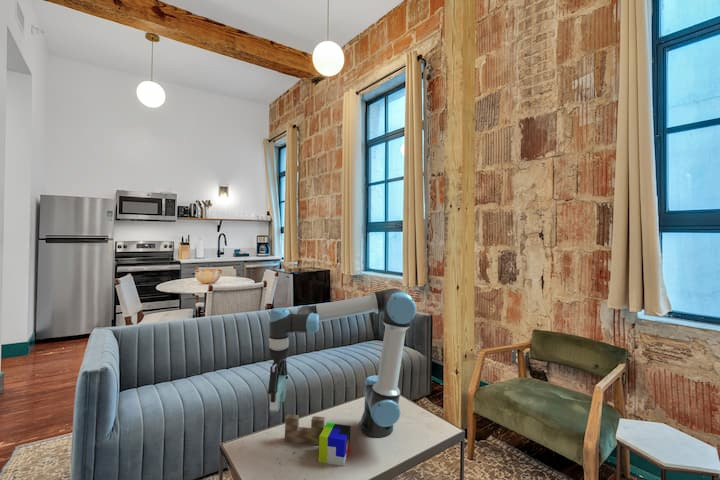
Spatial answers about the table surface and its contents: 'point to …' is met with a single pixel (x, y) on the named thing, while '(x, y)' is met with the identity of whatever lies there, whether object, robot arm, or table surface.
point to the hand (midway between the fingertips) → (278, 402)
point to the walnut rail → (303, 430)
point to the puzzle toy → (334, 444)
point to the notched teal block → (280, 391)
